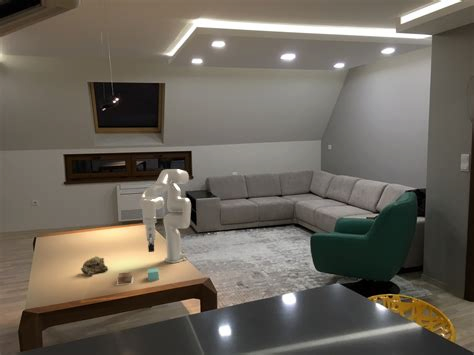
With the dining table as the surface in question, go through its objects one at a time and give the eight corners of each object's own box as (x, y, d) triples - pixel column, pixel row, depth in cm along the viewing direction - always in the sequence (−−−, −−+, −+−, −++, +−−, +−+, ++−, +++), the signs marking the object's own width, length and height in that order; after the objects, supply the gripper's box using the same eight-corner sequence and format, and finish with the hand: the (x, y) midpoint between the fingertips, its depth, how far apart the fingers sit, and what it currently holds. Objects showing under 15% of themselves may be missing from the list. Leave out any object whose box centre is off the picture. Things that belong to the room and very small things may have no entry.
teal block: (158, 277, 235) (158, 268, 234) (158, 281, 229) (158, 271, 228) (148, 279, 234) (147, 269, 233) (148, 282, 228) (147, 272, 227)
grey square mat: (139, 277, 236) (139, 275, 236) (139, 286, 223) (139, 284, 223) (112, 280, 233) (111, 278, 233) (109, 289, 220) (109, 287, 219)
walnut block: (131, 278, 232) (131, 271, 231) (131, 282, 225) (130, 276, 225) (119, 279, 231) (118, 273, 230) (118, 284, 224) (117, 277, 223)
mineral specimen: (85, 279, 237) (83, 263, 236) (79, 273, 247) (78, 258, 246) (109, 273, 245) (108, 258, 244) (102, 268, 256) (101, 253, 254)
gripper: (156, 223, 220) (158, 253, 221) (156, 216, 236) (157, 244, 238) (142, 224, 218) (144, 254, 220) (143, 217, 235) (145, 245, 237)
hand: (151, 249), depth 229 cm, fingers open, 9 cm apart
